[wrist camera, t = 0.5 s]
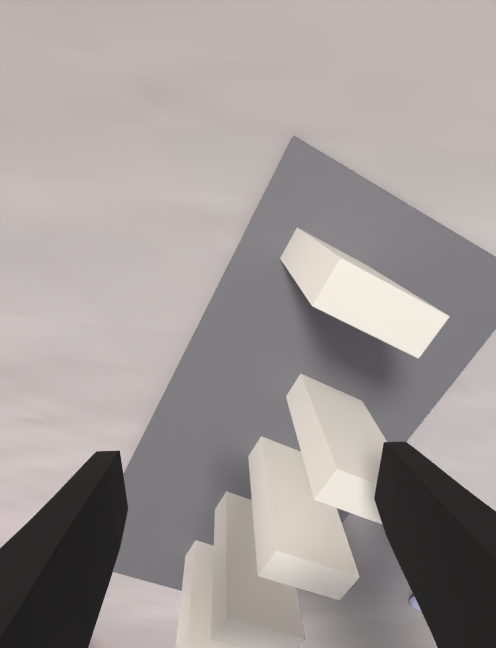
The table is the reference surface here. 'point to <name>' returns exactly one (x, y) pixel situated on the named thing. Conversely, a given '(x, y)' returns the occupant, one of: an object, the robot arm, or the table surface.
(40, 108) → the table surface
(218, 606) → the domino
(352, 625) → the table surface
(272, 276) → the runner mat
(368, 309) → the domino
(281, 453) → the domino
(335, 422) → the domino
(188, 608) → the domino
